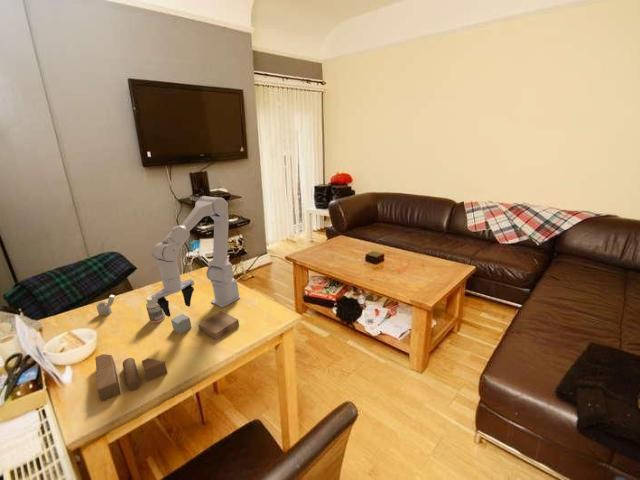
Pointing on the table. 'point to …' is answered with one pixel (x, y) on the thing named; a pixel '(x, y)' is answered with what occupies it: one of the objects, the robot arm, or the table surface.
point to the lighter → (105, 306)
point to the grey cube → (181, 323)
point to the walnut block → (218, 325)
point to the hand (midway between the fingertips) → (178, 310)
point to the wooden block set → (109, 377)
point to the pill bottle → (154, 310)
